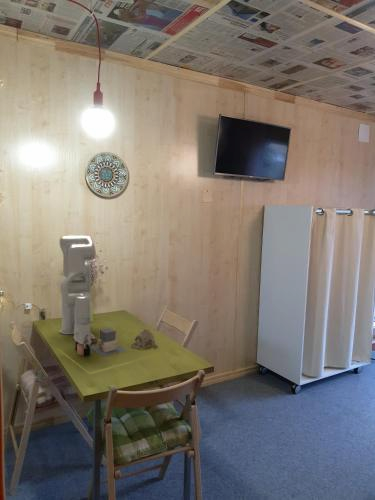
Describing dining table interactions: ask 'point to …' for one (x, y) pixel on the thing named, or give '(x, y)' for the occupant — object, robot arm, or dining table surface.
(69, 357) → the dining table surface
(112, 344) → the birch block
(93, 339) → the packaged product
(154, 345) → the stuffed bread roll
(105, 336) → the charcoal block
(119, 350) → the slate mat
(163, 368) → the dining table surface
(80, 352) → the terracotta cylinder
